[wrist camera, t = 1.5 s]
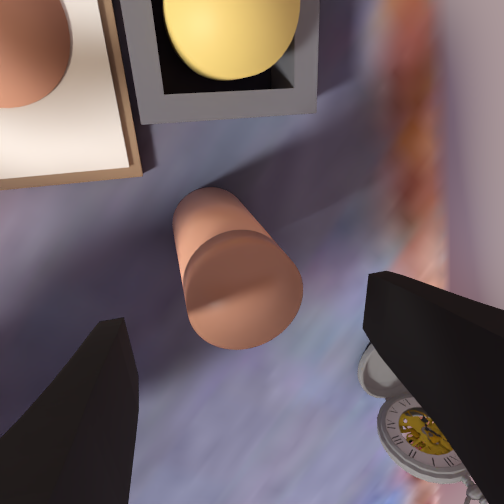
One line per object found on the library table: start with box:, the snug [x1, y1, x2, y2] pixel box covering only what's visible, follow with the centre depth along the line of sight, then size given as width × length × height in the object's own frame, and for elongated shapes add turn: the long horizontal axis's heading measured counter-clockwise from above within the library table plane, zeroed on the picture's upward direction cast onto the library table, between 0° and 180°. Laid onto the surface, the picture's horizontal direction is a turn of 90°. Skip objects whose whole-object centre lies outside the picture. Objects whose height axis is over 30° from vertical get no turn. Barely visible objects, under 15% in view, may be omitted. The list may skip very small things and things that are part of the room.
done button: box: [162, 0, 300, 81], centre depth 12 cm, size 4×4×3 cm
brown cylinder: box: [172, 187, 303, 350], centre depth 15 cm, size 4×4×8 cm
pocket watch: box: [358, 343, 488, 504], centre depth 23 cm, size 8×8×10 cm
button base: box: [120, 0, 320, 125], centre depth 14 cm, size 7×7×3 cm
